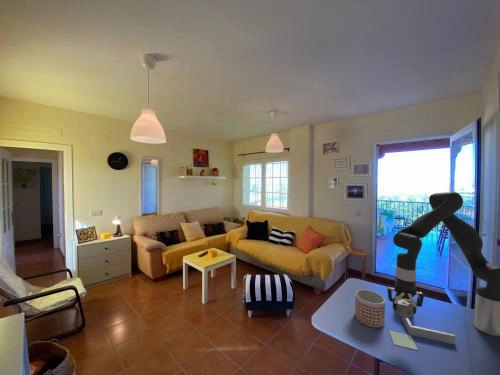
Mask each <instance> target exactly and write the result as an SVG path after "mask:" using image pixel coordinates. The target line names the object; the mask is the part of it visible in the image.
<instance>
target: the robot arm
mask: <svg viewBox="0 0 500 375" xmlns="http://www.w3.org/2000/svg"><path fill="white" fill-rule="evenodd" d="M463 198H464V197H463V196H462V195H461V194H460V193H458V192H457V191H456V192H455V191H446V192H436V193H432V194H431V195H430V196H429V197H428V201H429V205H430V207H431V209H432V210H431V211H430V210H429V211H428V212H427V213H424V214H422V215H421V216H419V217H417V218H416V219H415V220H414V221H413V222H412V223H411V224H410V225H409V226H407V227H404V228H402V229H400V230H399V231H398V232H396V233H395V234H394V236H393V239H392V243H393V244H394V245H395V246H396V247H398V248H401V249H402V250H403V249H404V250H406V251H407V252H400V253H398V254H397V256H396V267H395V275H394V276H395V280H394V287H390V286H387V287H386V291H387V298H388V301H389V302H390V303H392V308H393V311H394V310H395V311H397V304H396V303H397V302H398V301H399V300H400V299H407V300H409V299H410V301H411V303H412V304H411V305H413V306H414V307H413V316H414V315H415V314H417V308H418V307H420V308H421V307H423V303H424V297H425V295H424V293H423V292H422V291H416V283H417V271H416V268H417V260H418V256H419V255H420V252H421V250H422V247H423V241H422V240H421V239H423V238H425V237H426V236H427V235H428V234H429V233H430V232H431V231H433V229H434V228H435V227H437V226H438V225H439V224H440V223H441V222H442V223H443V224H444V226H445V227H446V228H447V230H448V232H449V233H450V235H451V236H452V238H453V240H454V241H455V242H456V245H457V246H458V247H459V249H460V250H461V252H462V254H463V256H465V258H466V260H467V263H468V265H469V267H470V269H471V271H472V273H473V274H474V275H475V277H477V278H478V279H480V280H481V281H484V282H486V286H481V285H480V286H476V290H475V302H474V303H475V306H474V318H473V319H474V320H473V326H474V327H475V328H476V329H477V330H479V331H480V332H482V333H484V334H487V335H490V336H493V337H500V266H498V265H496V264H492V263H490V262H489V261H487V260H488V259H486V257H485V256H484V254H483V252H482V250H483V247H484V246H483V245H484V241H483V240H482V238H481V235H479V233H478V231H477V230H476V228H474V227H473V226H472V225H470V224H469V223H468V222H466V221H464V220H463V219H461V218H460V217H458V216H457V215H455V213H457V212H458V211H459V210H460V209H461V208H462V207H463V205H464V199H463ZM394 292H395V293H396V294H395V293H394ZM393 293H394V296H393V295H392V294H393ZM415 296H416V298H417V299H416V300H415V298H414V297H415ZM413 298H414V299H413ZM414 300H415V301H414Z"/></svg>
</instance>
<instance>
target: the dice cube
mask: <svg viewBox="0 0 500 375" xmlns="http://www.w3.org/2000/svg"><path fill="white" fill-rule="evenodd" d="M396 304H397V311H395V310H394V309H393V311H394V313H396V314H397V315H399V316H401V317H402V319H403V318H408V319H409V318H412V317H413V318H414V315H413V307H414V306H413V305H411V304H410V303H408V302H406V301H404V300H399V301H398V302H397V303H396Z"/></svg>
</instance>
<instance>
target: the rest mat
mask: <svg viewBox="0 0 500 375" xmlns="http://www.w3.org/2000/svg"><path fill="white" fill-rule="evenodd" d="M388 333H389V336H390V338H391V341H392V343H393V346H398V347H401V348H406V349H408V350H409V349H410V350H414V351H419V349H418V347H417V345H416V343H415V340H414V339H413V337H412V335H410V334H406V333H401V332H397V331H395V330H394V331H393V330H388Z"/></svg>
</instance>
